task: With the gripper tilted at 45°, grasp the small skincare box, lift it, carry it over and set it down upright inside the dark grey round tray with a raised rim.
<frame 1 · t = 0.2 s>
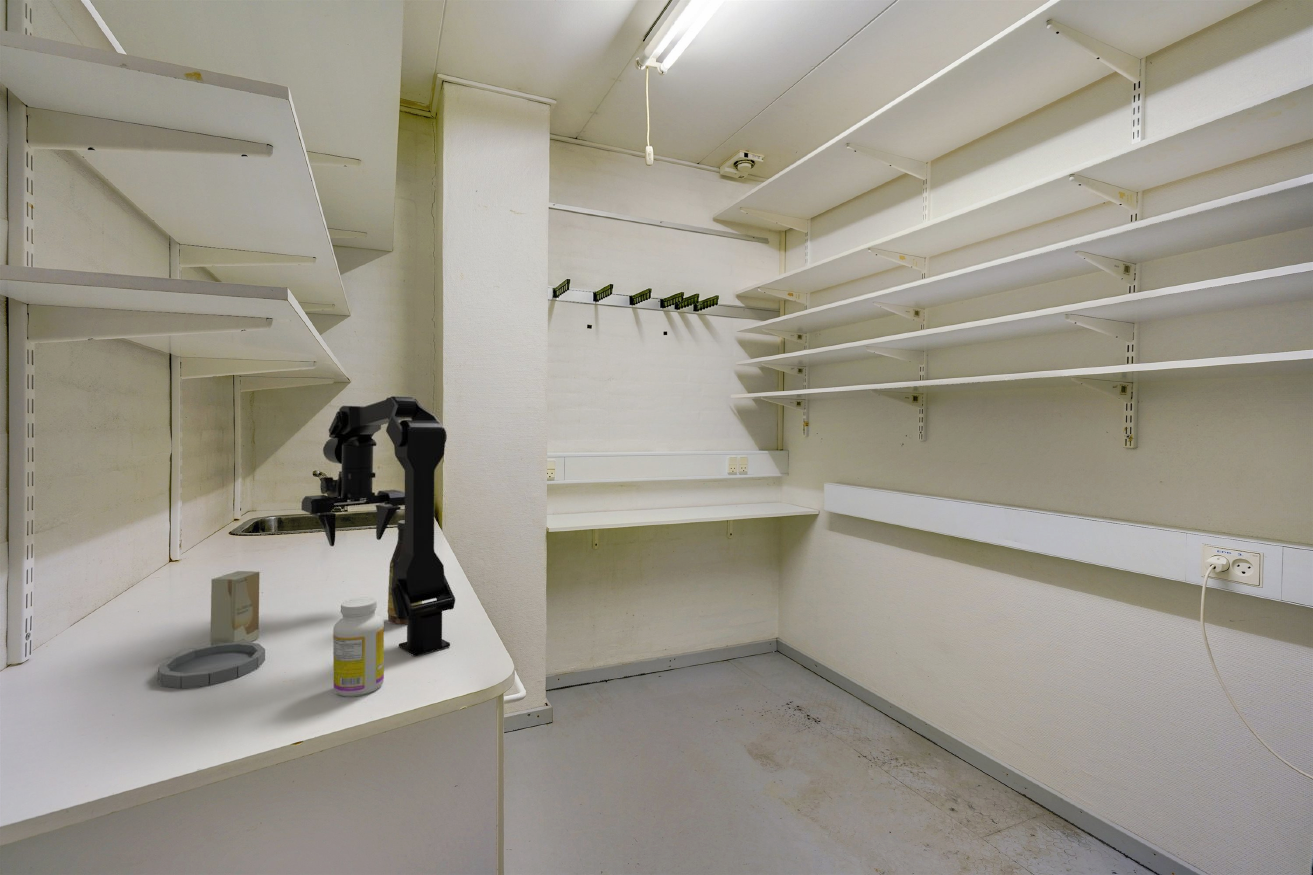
hand: (355, 542, 119), 14 cm above the counter, tool pointing down, fingers open, 9 cm apart
round tray: (213, 668, 91), on the counter
sauce bottle: (405, 621, 114), on the counter
supplement bottle: (358, 689, 85), on the counter
skincare box: (235, 644, 101), on the counter
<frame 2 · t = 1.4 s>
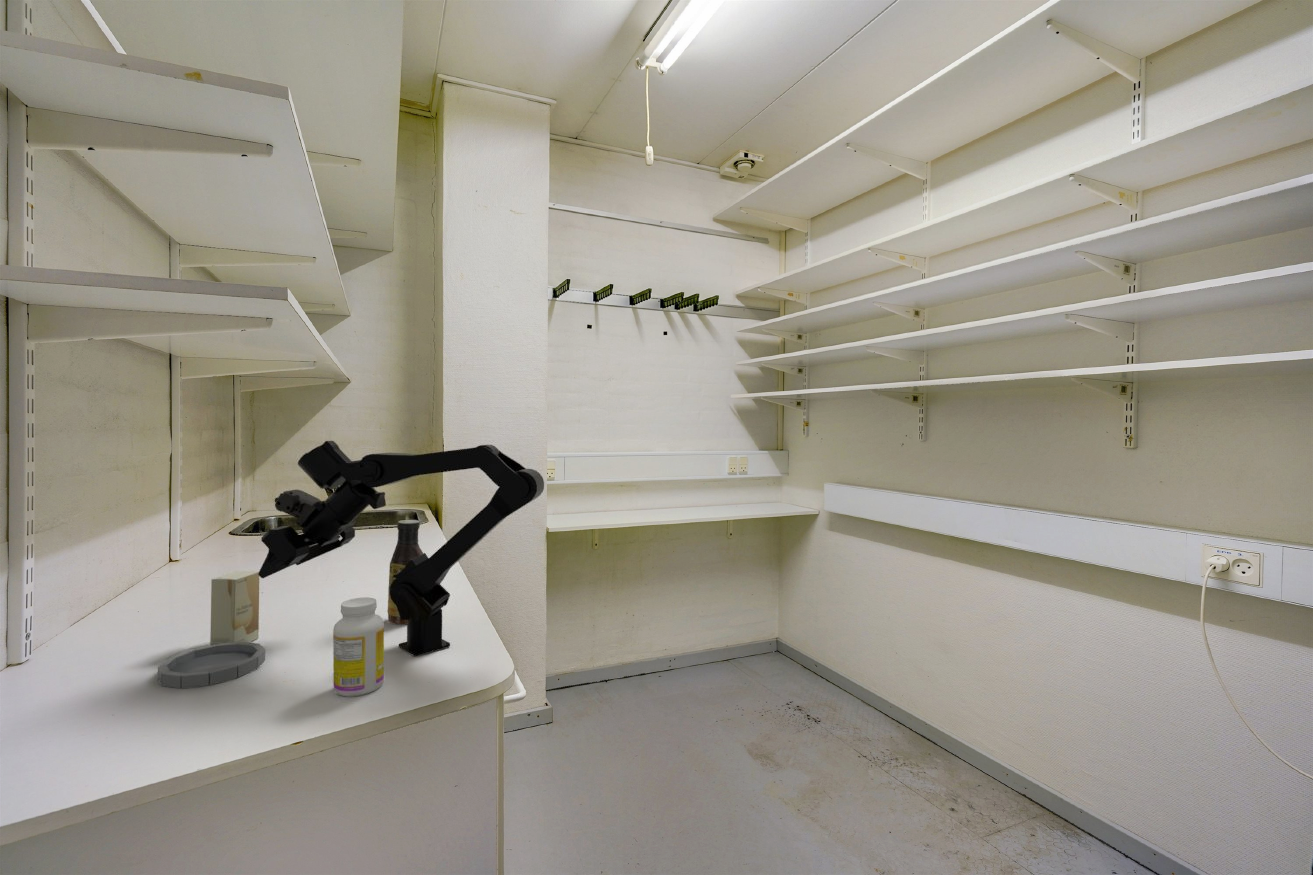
hand: (278, 569, 101), 13 cm above the counter, tool tilted 45°, fingers open, 9 cm apart
nothing on the counter moved.
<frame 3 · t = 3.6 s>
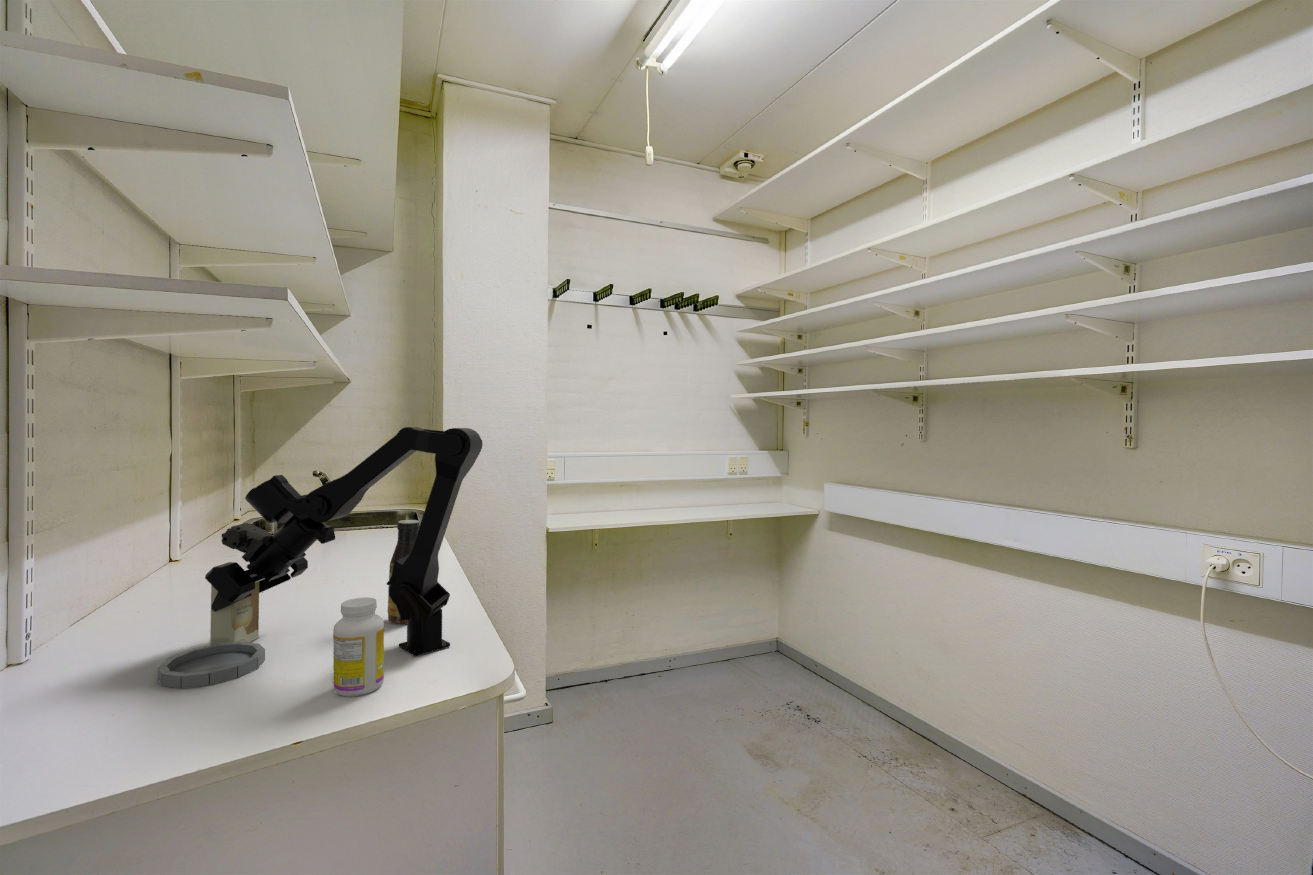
hand: (227, 603, 101), 7 cm above the counter, tool tilted 45°, fingers closed on skincare box, 6 cm apart
skincare box: (235, 644, 101), on the counter, touching gripper
everything else where it was.
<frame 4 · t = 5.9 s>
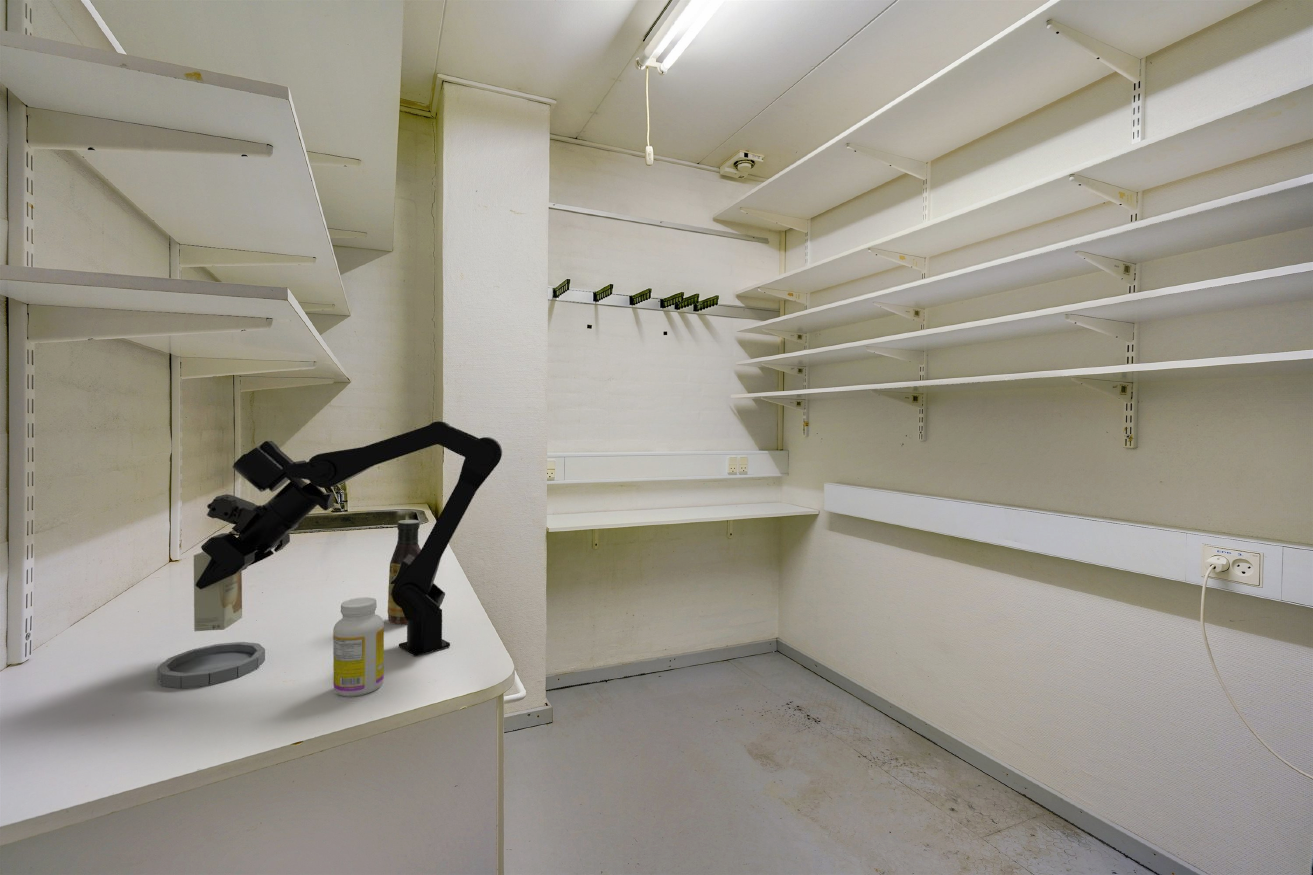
hand: (209, 581, 93), 13 cm above the counter, tool tilted 45°, fingers closed on skincare box, 6 cm apart
skincare box: (219, 625, 93), point 6 cm above the counter, touching gripper
everything else where it was.
when the fingers open (9 cm above the counter, at t = 8.1 s): skincare box drops 1 cm, resting on round tray.
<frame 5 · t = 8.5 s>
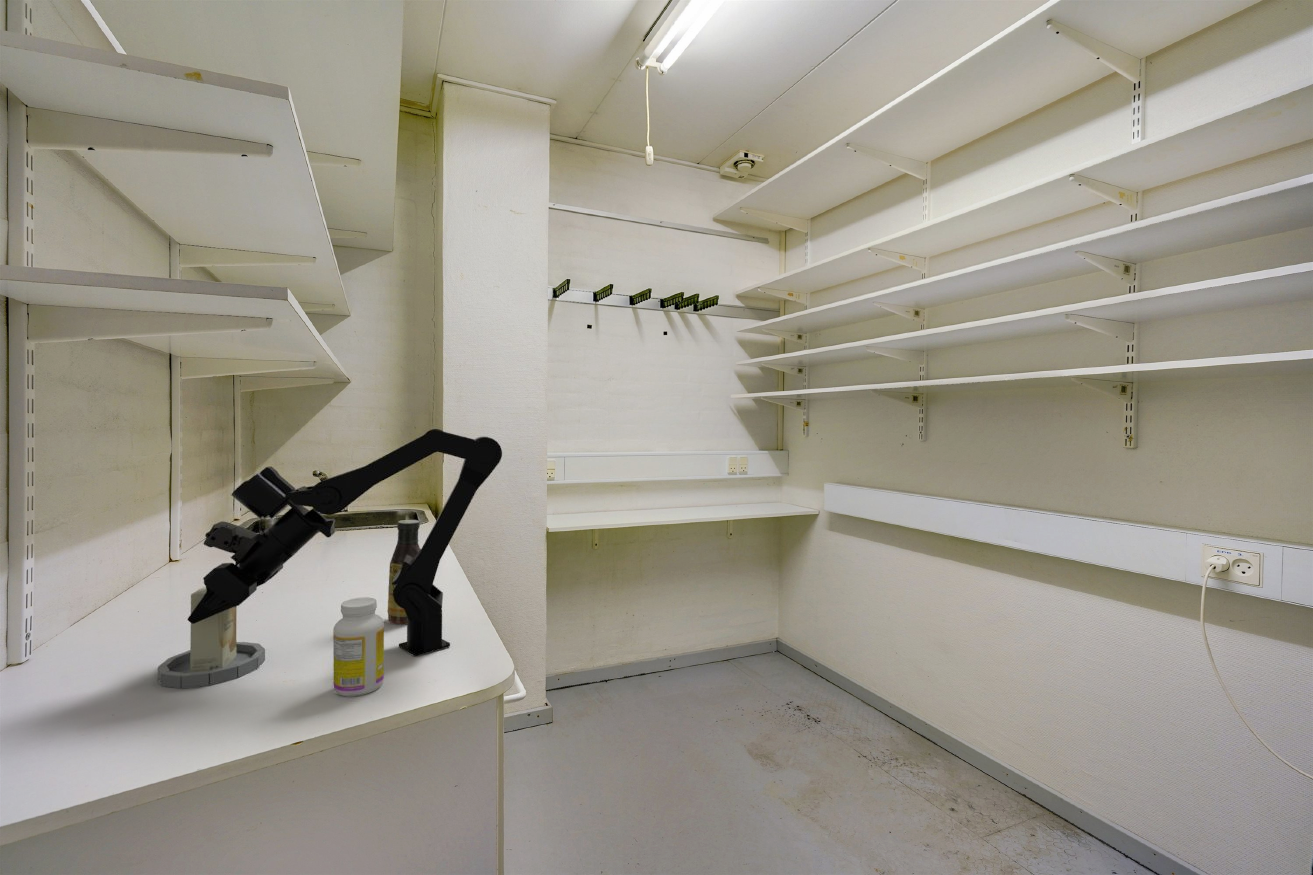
hand: (203, 612, 90), 9 cm above the counter, tool tilted 45°, fingers open, 9 cm apart
skincare box: (214, 665, 91), resting on round tray
everything else where it was.
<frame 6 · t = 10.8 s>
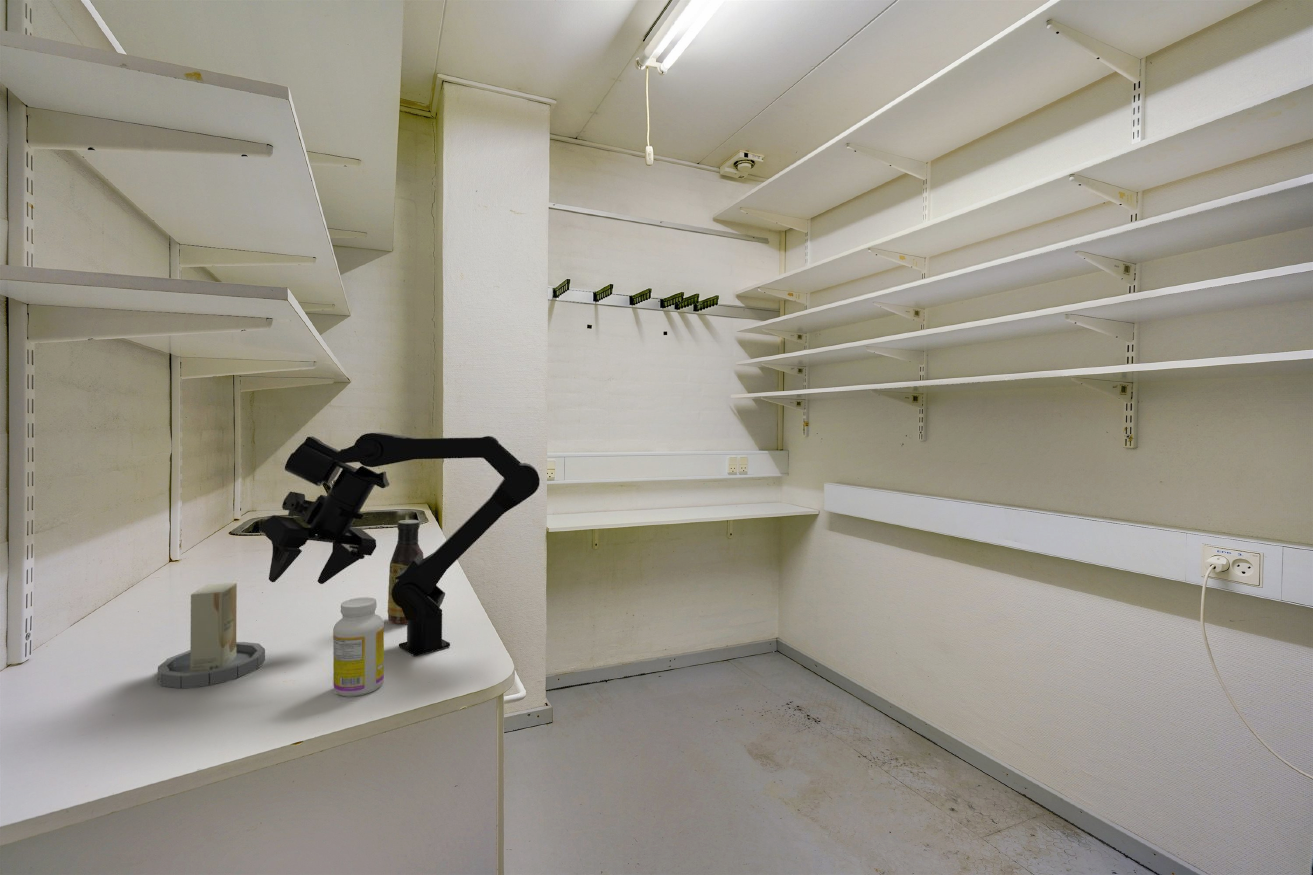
hand: (296, 581, 96), 12 cm above the counter, tool tilted 30°, fingers open, 9 cm apart
nothing on the counter moved.
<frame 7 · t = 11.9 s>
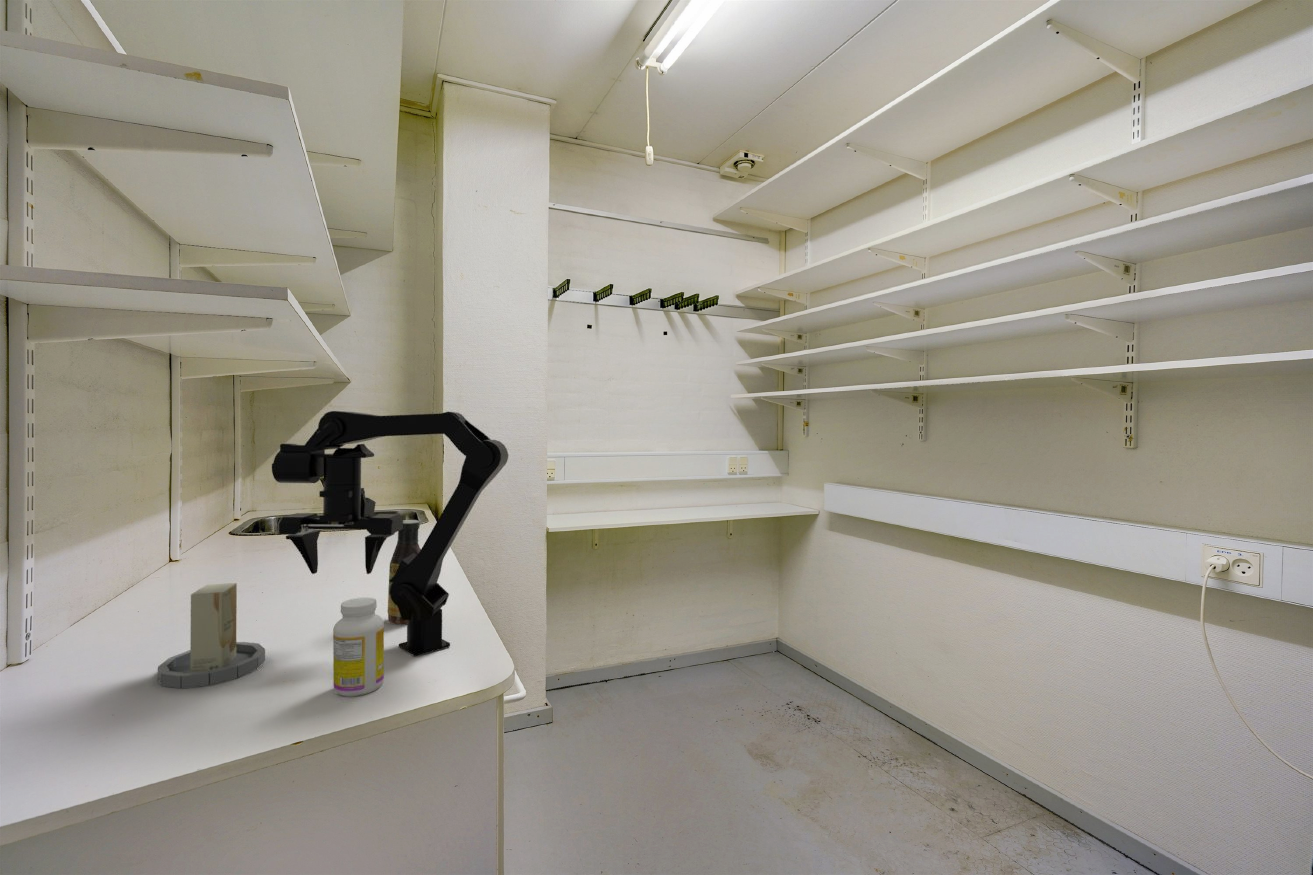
hand: (341, 573, 100), 13 cm above the counter, tool pointing down, fingers open, 9 cm apart
nothing on the counter moved.
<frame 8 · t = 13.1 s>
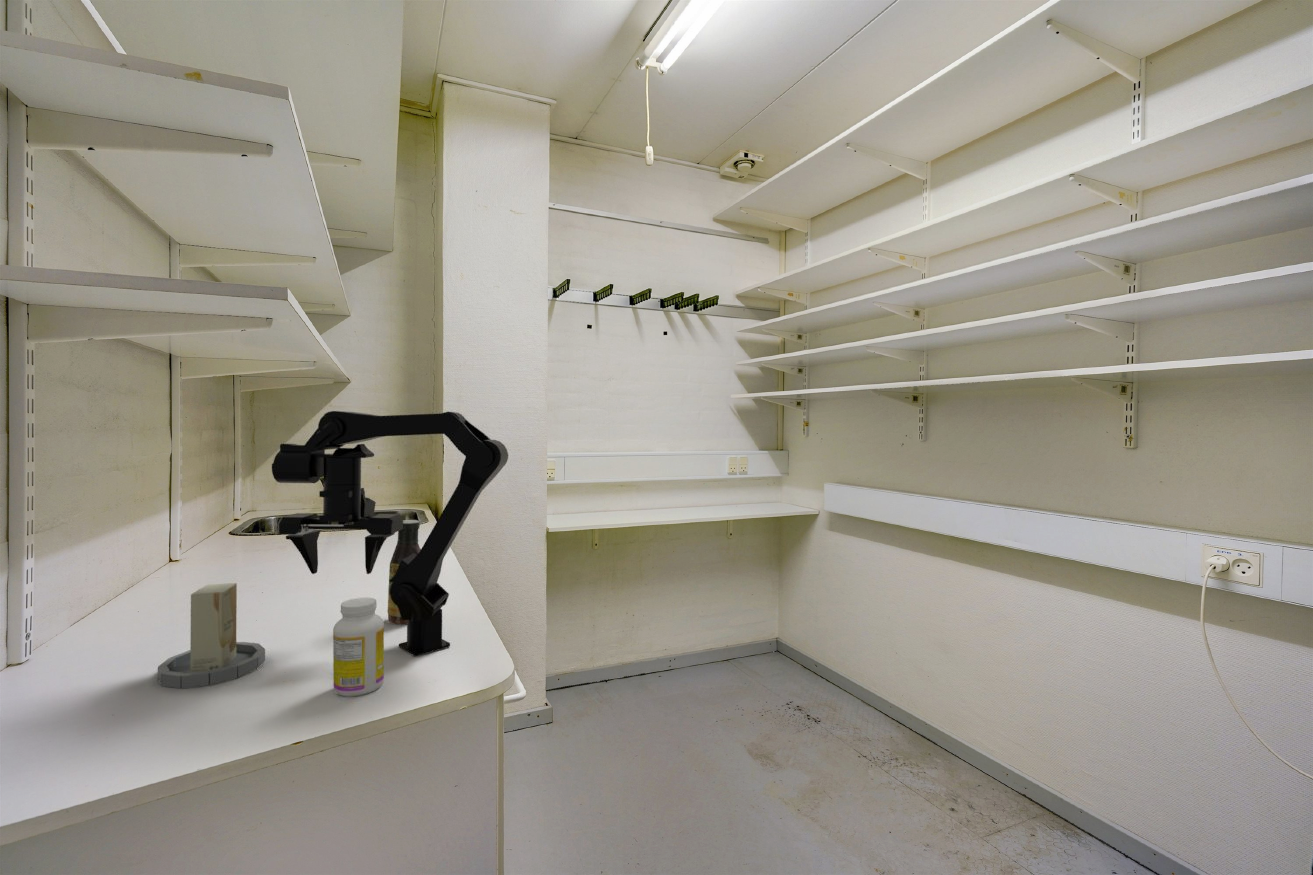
hand: (341, 573, 100), 13 cm above the counter, tool pointing down, fingers open, 9 cm apart
nothing on the counter moved.
at the end: skincare box 0.1 cm off-centre on the round tray, point 0.4 cm above the round tray's base; skincare box tilted 0°; the gripper is holding nothing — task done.
